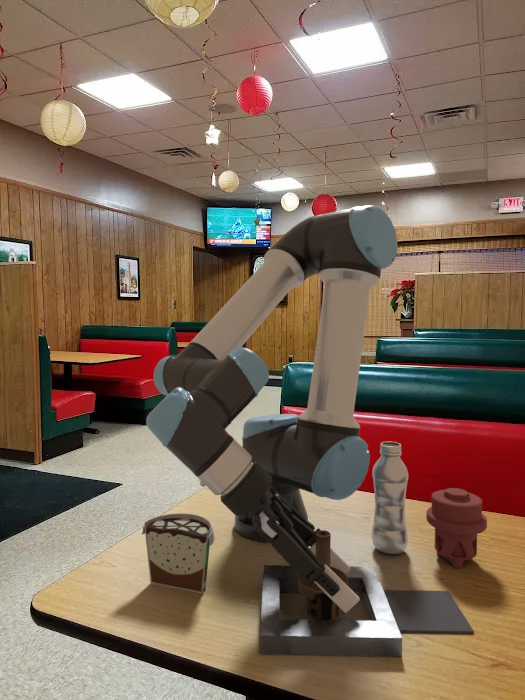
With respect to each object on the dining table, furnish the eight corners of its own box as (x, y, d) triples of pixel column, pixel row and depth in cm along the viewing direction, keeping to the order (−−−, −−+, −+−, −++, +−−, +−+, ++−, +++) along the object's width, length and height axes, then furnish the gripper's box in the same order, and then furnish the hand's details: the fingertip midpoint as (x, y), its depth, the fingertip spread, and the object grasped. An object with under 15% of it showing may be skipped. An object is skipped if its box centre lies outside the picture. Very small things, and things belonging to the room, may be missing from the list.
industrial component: (296, 597, 76) (296, 521, 75) (343, 598, 76) (344, 521, 75) (299, 636, 66) (300, 550, 66) (353, 637, 66) (354, 550, 65)
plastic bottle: (388, 562, 87) (390, 450, 85) (363, 546, 93) (365, 442, 91) (415, 554, 90) (417, 446, 88) (390, 539, 96) (391, 438, 94)
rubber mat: (384, 591, 77) (384, 589, 77) (448, 592, 77) (448, 590, 77) (399, 632, 67) (400, 629, 67) (473, 633, 67) (473, 631, 67)
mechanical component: (478, 548, 92) (492, 576, 82) (422, 544, 94) (429, 570, 84) (480, 484, 91) (494, 504, 81) (423, 480, 93) (431, 499, 83)
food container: (226, 576, 82) (226, 517, 81) (211, 595, 76) (210, 532, 76) (162, 564, 86) (161, 508, 85) (142, 581, 80) (141, 522, 80)
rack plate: (263, 579, 81) (263, 565, 81) (373, 581, 80) (374, 566, 80) (260, 654, 63) (260, 635, 63) (401, 656, 62) (402, 638, 62)
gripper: (225, 474, 81) (323, 570, 82) (208, 525, 61) (338, 653, 61) (257, 442, 81) (355, 540, 81) (251, 484, 60) (381, 613, 61)
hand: (347, 588), depth 71 cm, fingers closed on industrial component, 7 cm apart
